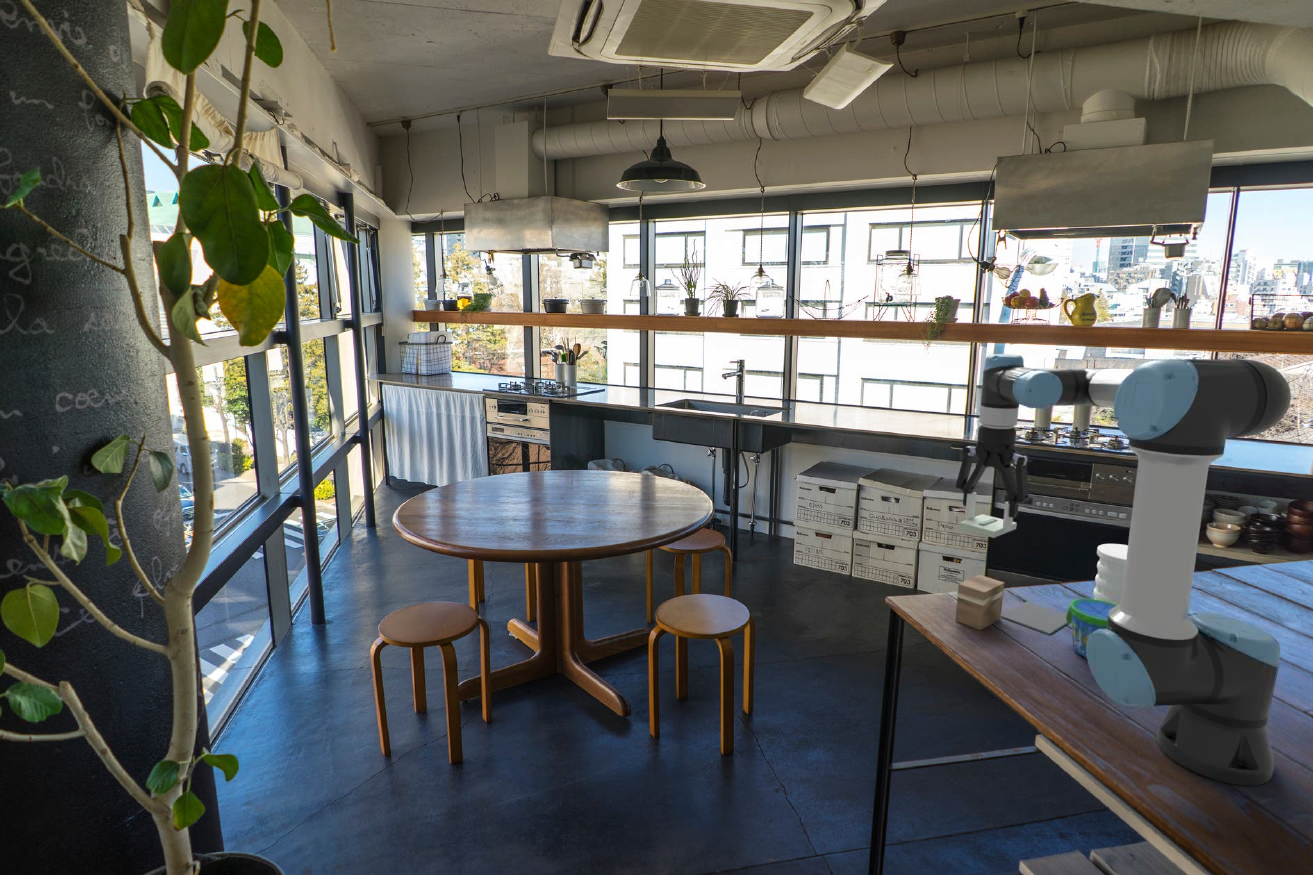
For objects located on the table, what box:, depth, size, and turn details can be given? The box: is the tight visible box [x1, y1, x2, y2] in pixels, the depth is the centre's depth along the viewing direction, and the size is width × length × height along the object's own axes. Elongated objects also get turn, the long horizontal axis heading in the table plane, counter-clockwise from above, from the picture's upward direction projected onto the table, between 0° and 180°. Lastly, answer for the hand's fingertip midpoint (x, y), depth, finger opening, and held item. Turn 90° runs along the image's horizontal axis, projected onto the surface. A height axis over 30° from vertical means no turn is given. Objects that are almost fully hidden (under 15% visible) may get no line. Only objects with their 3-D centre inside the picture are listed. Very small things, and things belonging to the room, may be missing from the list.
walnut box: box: [954, 574, 1005, 631], centre depth 165 cm, size 9×6×9 cm
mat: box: [1001, 600, 1069, 636], centre depth 167 cm, size 13×11×1 cm
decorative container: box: [1093, 543, 1128, 605], centre depth 160 cm, size 12×12×18 cm
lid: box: [958, 513, 1018, 539], centre depth 161 cm, size 10×8×2 cm
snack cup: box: [1066, 598, 1117, 659], centre depth 149 cm, size 16×10×10 cm
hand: (987, 525), depth 161 cm, fingers closed on lid, 8 cm apart
